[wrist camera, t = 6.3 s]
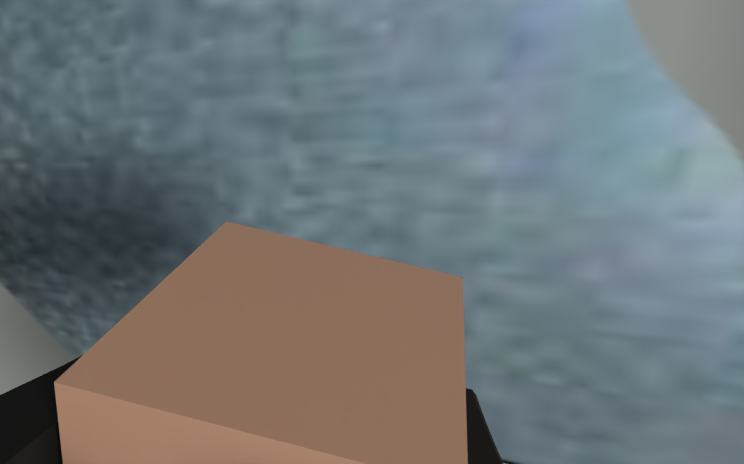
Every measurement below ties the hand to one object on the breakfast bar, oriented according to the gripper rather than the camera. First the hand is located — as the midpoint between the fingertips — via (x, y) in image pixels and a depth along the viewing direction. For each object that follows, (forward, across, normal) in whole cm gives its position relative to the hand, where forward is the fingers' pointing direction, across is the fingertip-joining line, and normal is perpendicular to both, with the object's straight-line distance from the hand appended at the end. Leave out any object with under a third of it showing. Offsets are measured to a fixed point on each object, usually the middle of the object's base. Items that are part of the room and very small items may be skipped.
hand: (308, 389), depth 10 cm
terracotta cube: (+1, 0, 0) cm, 1 cm away
